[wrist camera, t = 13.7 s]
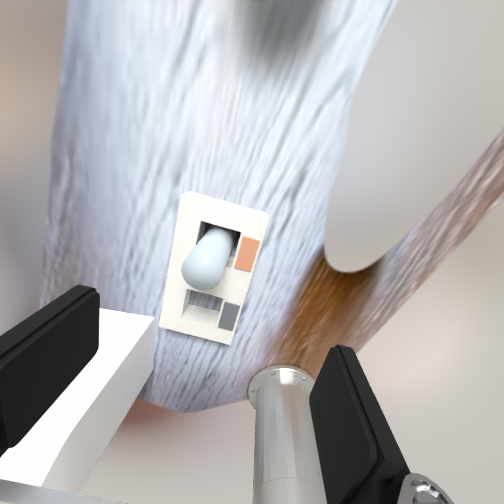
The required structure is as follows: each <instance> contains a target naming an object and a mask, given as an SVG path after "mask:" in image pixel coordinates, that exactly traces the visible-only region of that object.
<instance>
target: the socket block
mask: <svg viewBox="0 0 504 504" xmlns="http://www.w3.org/2000/svg"><path fill="white" fill-rule="evenodd" d="M206 222H207V223H211V224H214V225H218V226H221V227H225V228H229V229H232V230H236V231H239V232H241V235H240V239H239V242H238V246H237V250H236V253H235V257H233V256H229V258H228V261H227V264H226V266H225V269H224V272H223V274H222V277H221V280H220V282H219V283H218V284H217V285H216V286H215V287H214V288H212V289H209V290H198V289H195V288H193V287H191V286H190V285H188V284H187V283H186V281H185V280H184V278H183V276H182V272H181V267H182V264H183V262H184V260H185V259H186V258H187V256H188V255H189V254H190V253H191V251H192V250H193V249H194V247H195V246H196V245H197V244H198V242H199V241H200V240H201V239H202V237H203V234H204V229H205V225H206ZM268 222H269V213H265V212H262V211H258V210H255V209H251V208H248V207H244V206H241V205H237V204H234V203H231V202H227V201H224V200H220V199H217V198H213V197H210V196H206V195H203V194H199V193H196V192H192V191H190V192H187V193H185V194H183V195H181V199H180V205H179V211H178V217H177V222H176V228H175V234H174V240H173V246H172V252H171V258H170V264H169V270H168V276H167V282H166V288H165V294H164V300H163V306H162V311H161V317H160V323H159V327H162V328H166V329H170V330H174V331H178V332H182V333H185V334H189V335H193V336H197V337H201V338H205V339H209V340H213V341H217V342H220V343H224V344H228V345H231V342H232V338H233V335H234V332H235V329H236V326H237V322H238V319H239V316H240V313H241V309H242V306H243V303H244V300H245V297H246V293H247V290H248V287H249V284H250V280H251V277H252V274H253V271H254V268H255V264H256V261H257V258H258V255H259V251H260V248H261V245H262V242H263V239H264V235H265V232H266V229H267V226H268ZM191 290H194V291H197V292H201V293H205V294H209V295H212V296H216V297H220V298H223V301H222V305H221V308H220V312H219V311H215V310H211V309H207V308H203V307H200V306H196V305H192V304H189V299H190V295H191Z"/></svg>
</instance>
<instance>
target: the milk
mask: <svg viewBox="0 0 504 504" xmlns="http://www.w3.org/2000/svg"><path fill="white" fill-rule="evenodd" d="M154 327H155V317H149V316H143V315H137V314H131V313H125V312H119V311H113V310H107V309H101V308H100V315H99V348H98V351H97V353H96V355H95V356H94V357H93V358H92V360H91V361H90V362H89V363H88V364H87V365H86V366H85V368H84V369H83V370H82V371H81V372H80V373H79V375H78V376H77V377H76V378H75V379H74V380H73V381H72V383H71V384H70V385H69V386H68V387H67V388H66V390H65V391H64V392H63V393H62V394H61V395H60V396H59V398H58V399H57V400H56V401H55V402H54V403H53V405H52V406H51V407H50V408H49V409H48V410H47V411H46V413H45V414H44V415H43V416H42V417H41V418H40V419H39V421H38V422H37V423H36V424H35V425H34V426H33V428H32V429H31V430H30V431H29V432H28V433H27V434H26V436H25V437H24V438H23V439H22V440H21V441H20V442H19V443H18V444H17V445H16V446H15V447H13V448H9V449H8V450H7V451H6V452H5V453H4V454H3V455H2V457H1V458H0V479H4V480H9V481H15V482H20V483H25V484H30V485H35V486H40V487H45V488H50V489H56V490H61V491H66V492H71V493H76V494H78V493H79V492H80V491H81V489H82V488H83V486H84V485H85V483H86V481H87V480H88V478H89V476H90V475H91V473H92V471H93V470H94V468H95V466H96V465H97V463H98V461H99V460H100V458H101V456H102V454H103V453H104V451H105V450H106V448H107V446H108V444H109V443H110V441H111V439H112V438H113V436H114V434H115V433H116V431H117V429H118V428H119V426H120V424H121V423H122V421H123V419H124V418H125V416H126V414H127V413H128V411H129V409H130V408H131V406H132V404H133V403H134V401H135V399H136V398H137V396H138V394H139V393H140V391H141V389H142V388H143V386H144V384H145V383H146V381H147V379H148V378H149V376H150V374H151V373H152V371H153V369H154Z"/></svg>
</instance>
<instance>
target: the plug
mask: <svg viewBox="0 0 504 504" xmlns="http://www.w3.org/2000/svg"><path fill="white" fill-rule="evenodd" d="M235 239H236V234H235V231H234V230H232V229H229V228H225V227H221V226H218V225H212V226H211V227H210V229H209V230H208V231H207V232H206V234H205V235H204V236H203V237H202V239H201V240H200V241H199V242H198V244H197V245H196V246H195V247H194V249H193V250H192V251H191V253H190V254H189V255H188V256H187V258H186V259H185V260H184V262H183V264H182V267H181V272H182V276H183V278H184V280H185V281H186V283H187V284H188V285H190V286H191V287H193V288H195V289H198V290H209V289H212V288H214V287H215V286H216V285H217V284H218V283H219V282H220V280H221V277H222V274H223V272H224V269H225V266H226V264H227V261H228V258H229V255H230V253H231V250H232V247H233V245H234V242H235Z"/></svg>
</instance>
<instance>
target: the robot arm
mask: <svg viewBox="0 0 504 504" xmlns="http://www.w3.org/2000/svg"><path fill="white" fill-rule="evenodd" d="M99 315H100V294H99V293H97V292H96V289H95V288H92V287H88V286H84V285H76V286H75V287H73V288H72V289H70V290H69V291H67V292H66V293H64V294H63V295H61V296H60V297H58V298H57V299H55V300H54V301H52V302H51V303H49V304H48V305H46V306H45V307H43V308H42V309H40V310H39V311H37V312H36V313H34V314H33V315H31V316H30V317H28V318H27V319H25V320H24V321H22V322H21V323H19V324H18V325H16V326H15V327H13V328H12V329H10V330H9V331H7V332H6V333H4V334H3V335H1V336H0V458H1V457H2V455H3V454H4V453H5V452H6V451H7V450H8V449H9V448H13V447H15V446H16V445H17V444H18V443H19V442H20V441H21V440H22V439H23V438H24V437H25V436H26V434H27V433H28V432H29V431H30V430H31V429H32V428H33V426H34V425H35V424H36V423H37V422H38V421H39V419H40V418H41V417H42V416H43V415H44V414H45V413H46V411H47V410H48V409H49V408H50V407H51V406H52V405H53V403H54V402H55V401H56V400H57V399H58V398H59V396H60V395H61V394H62V393H63V392H64V391H65V390H66V388H67V387H68V386H69V385H70V384H71V383H72V381H73V380H74V379H75V378H76V377H77V376H78V375H79V373H80V372H81V371H82V370H83V369H84V368H85V366H86V365H87V364H88V363H89V362H90V361H91V360H92V358H93V357H94V356H95V355H96V353H97V351H98V348H99ZM248 397H249V401H250V403H251V405H252V406H253V407H254V408H255V409H256V425H255V452H254V478H253V504H454V503H453V501H452V500H451V499H450V498H449V497H448V495H447V494H446V493H445V492H444V491H443V490H442V489H441V488H440V487H439V486H438V485H437V484H436V483H434V482H433V481H431V480H430V479H429V478H427V477H425V476H423V475H420V474H416V473H411V472H410V470H409V468H408V466H407V464H406V462H405V459H404V458H403V455H402V453H401V451H400V449H399V447H398V444H397V442H396V440H395V438H394V436H393V434H392V431H391V429H390V427H389V425H388V423H387V421H386V418H385V416H384V414H383V412H382V410H381V408H380V405H379V403H378V401H377V399H376V397H375V395H374V393H373V392H372V389H371V387H370V385H369V383H368V380H367V378H366V376H365V374H364V372H363V369H362V367H361V365H360V363H359V361H358V359H357V356H356V354H355V352H354V350H353V349H352V348H351V347H346V346H342V345H336V346H335V348H334V347H332V348H331V349H330V350H329V353H328V355H327V357H326V359H325V361H324V364H323V366H322V368H321V370H320V373H319V375H318V377H317V379H316V381H315V380H314V379H313V377H312V376H311V375H310V374H309V373H307V372H306V371H304V370H303V369H300V368H298V367H294V366H290V365H275V366H270V367H267V368H265V369H263V370H261V371H259V372H258V373H257V374H256V375H254V377H253V378H252V379H251V381H250V384H249V388H248ZM0 504H126V503H122V502H117V501H111V500H106V499H102V498H96V497H91V496H86V495H81V494H76V493H71V492H66V491H61V490H56V489H50V488H45V487H40V486H35V485H30V484H25V483H20V482H15V481H9V480H4V479H0Z"/></svg>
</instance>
